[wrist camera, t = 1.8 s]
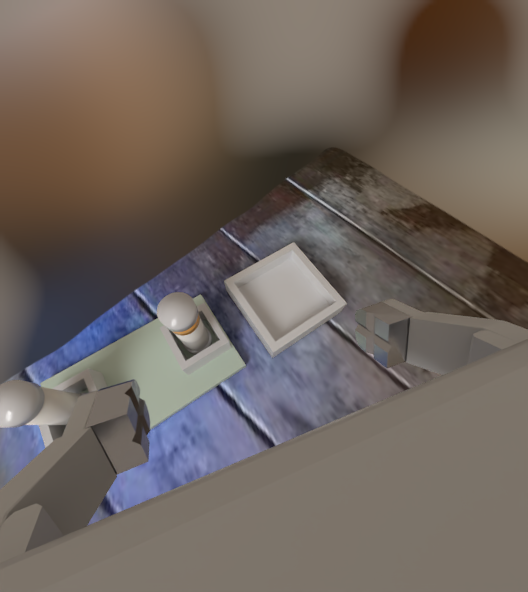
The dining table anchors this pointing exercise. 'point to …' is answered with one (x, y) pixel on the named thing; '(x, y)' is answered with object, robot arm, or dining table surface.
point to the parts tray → (284, 298)
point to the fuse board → (153, 369)
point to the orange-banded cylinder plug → (184, 321)
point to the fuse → (34, 404)
